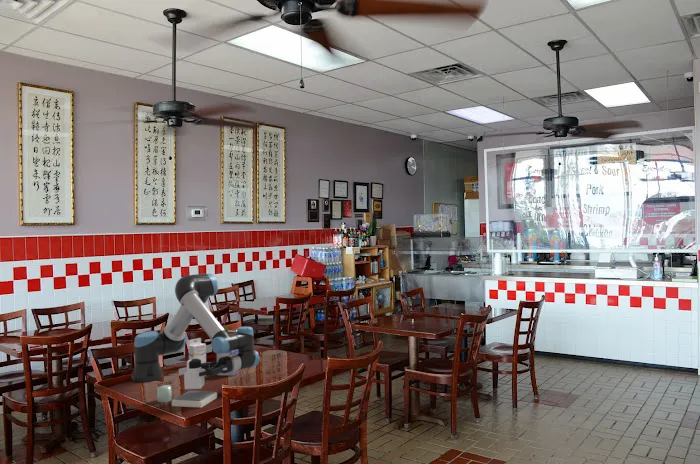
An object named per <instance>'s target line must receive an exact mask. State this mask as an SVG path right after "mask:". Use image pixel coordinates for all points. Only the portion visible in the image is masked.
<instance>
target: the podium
mask: <svg viewBox="0 0 700 464" xmlns="http://www.w3.org/2000/svg"><path fill="white" fill-rule="evenodd" d="M217 398H218V393H217V392H216V391H211V390H210V391H207V390H187V392H184V393H182V394H181V395H178V396H177V397H175V398H173V399H172V400H171V407H186V408H201V409H202V408H203V407H204V406H206V405H208V404H210V403H211V402H212V401H214V400H216V399H217Z"/></svg>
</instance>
